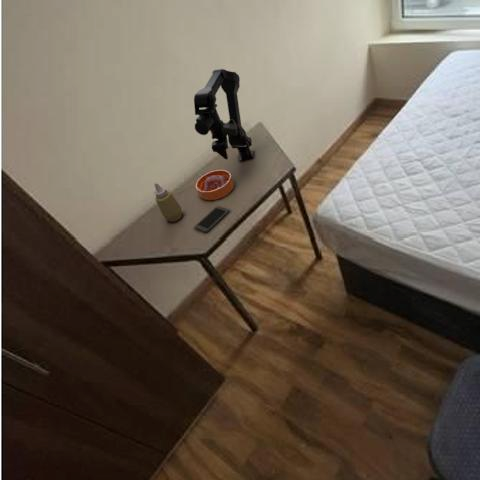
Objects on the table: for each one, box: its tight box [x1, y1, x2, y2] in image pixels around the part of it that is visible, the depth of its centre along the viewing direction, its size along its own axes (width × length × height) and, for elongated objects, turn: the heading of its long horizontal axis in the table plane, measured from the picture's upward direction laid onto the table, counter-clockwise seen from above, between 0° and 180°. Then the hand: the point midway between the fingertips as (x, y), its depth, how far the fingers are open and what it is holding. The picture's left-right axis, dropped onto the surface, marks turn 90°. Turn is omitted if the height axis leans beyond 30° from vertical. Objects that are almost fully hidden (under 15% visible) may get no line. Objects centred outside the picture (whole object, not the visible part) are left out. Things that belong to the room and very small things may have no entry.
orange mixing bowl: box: [195, 169, 235, 201], centre depth 177 cm, size 16×16×5 cm
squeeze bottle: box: [154, 182, 183, 223], centre depth 163 cm, size 8×8×18 cm
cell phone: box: [194, 206, 230, 233], centre depth 163 cm, size 7×14×1 cm, turn 146°
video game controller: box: [205, 175, 226, 191], centre depth 177 cm, size 10×5×7 cm, turn 84°
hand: (227, 153), depth 176 cm, fingers open, 9 cm apart
